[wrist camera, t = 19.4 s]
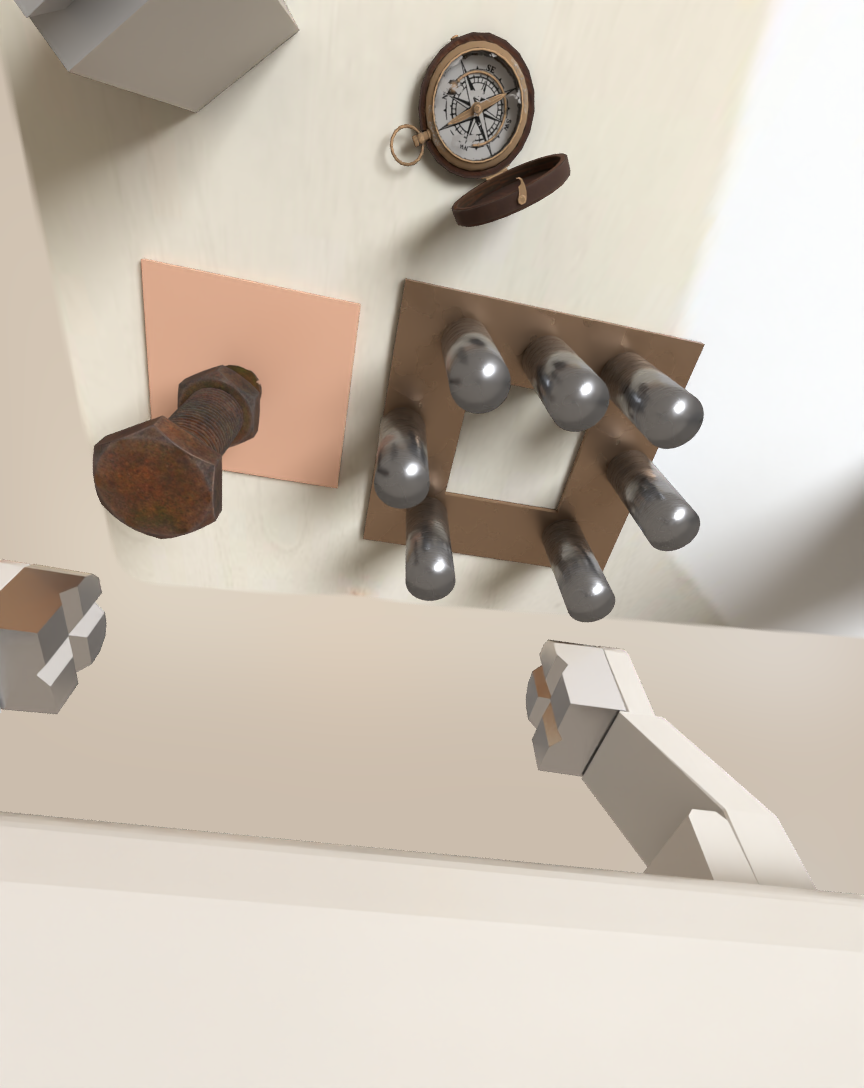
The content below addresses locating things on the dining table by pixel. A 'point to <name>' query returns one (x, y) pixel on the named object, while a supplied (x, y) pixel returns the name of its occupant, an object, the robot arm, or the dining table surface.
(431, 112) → the compass
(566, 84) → the dining table surface
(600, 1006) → the robot arm
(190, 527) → the bolt
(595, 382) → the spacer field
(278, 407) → the pad
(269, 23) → the perfume bottle
